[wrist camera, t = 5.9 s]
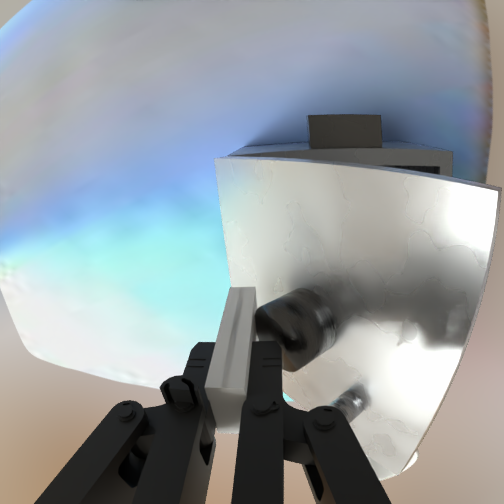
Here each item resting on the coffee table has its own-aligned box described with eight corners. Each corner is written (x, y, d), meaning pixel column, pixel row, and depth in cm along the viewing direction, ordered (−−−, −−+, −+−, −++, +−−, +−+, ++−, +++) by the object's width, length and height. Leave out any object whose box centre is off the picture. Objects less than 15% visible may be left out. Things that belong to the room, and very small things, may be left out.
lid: (226, 156, 17) (180, 164, 15) (501, 187, 6) (483, 206, 5) (251, 352, 22) (219, 368, 21) (406, 465, 11) (372, 501, 10)
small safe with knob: (241, 123, 23) (223, 122, 16) (405, 119, 22) (451, 120, 14) (260, 312, 30) (253, 368, 23) (396, 303, 29) (422, 354, 21)
